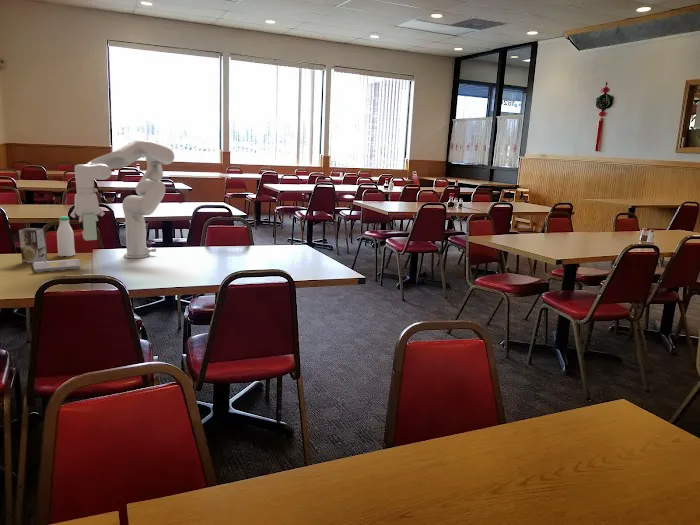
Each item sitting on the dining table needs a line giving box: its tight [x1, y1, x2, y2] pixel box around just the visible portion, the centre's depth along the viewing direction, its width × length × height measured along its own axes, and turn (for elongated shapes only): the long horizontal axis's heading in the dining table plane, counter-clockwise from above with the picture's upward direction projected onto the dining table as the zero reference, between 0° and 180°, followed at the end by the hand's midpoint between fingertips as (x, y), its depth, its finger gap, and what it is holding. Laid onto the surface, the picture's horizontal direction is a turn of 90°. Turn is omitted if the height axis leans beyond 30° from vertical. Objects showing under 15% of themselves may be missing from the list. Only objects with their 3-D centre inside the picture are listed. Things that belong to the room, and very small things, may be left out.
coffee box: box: [18, 227, 48, 264], centre depth 261 cm, size 9×6×16 cm
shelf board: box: [32, 258, 81, 273], centre depth 251 cm, size 18×15×4 cm
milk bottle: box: [56, 215, 76, 257], centre depth 277 cm, size 8×8×20 cm
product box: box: [81, 214, 98, 241], centre depth 257 cm, size 5×8×12 cm, turn 33°
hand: (89, 229), depth 257 cm, fingers closed on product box, 5 cm apart
